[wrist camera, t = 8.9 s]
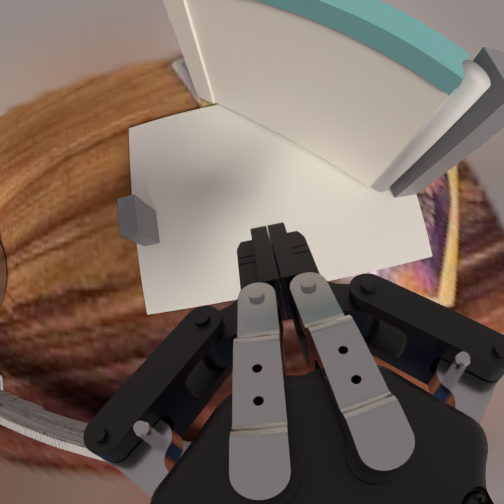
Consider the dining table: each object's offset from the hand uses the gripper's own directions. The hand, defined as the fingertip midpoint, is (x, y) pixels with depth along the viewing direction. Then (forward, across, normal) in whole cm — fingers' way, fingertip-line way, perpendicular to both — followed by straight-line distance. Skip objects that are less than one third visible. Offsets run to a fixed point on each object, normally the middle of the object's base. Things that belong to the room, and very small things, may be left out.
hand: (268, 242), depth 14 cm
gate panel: (+11, -4, -2) cm, 12 cm away
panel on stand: (+9, -2, +2) cm, 10 cm away
